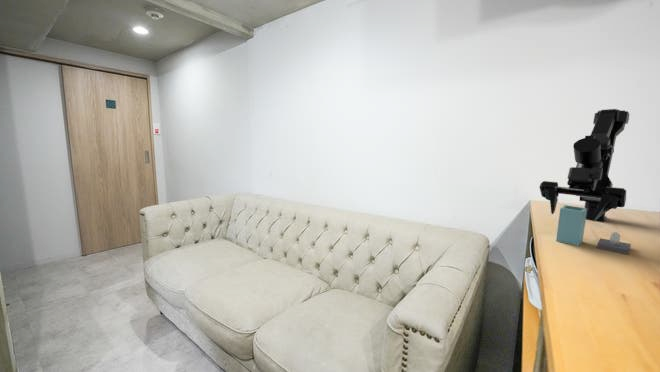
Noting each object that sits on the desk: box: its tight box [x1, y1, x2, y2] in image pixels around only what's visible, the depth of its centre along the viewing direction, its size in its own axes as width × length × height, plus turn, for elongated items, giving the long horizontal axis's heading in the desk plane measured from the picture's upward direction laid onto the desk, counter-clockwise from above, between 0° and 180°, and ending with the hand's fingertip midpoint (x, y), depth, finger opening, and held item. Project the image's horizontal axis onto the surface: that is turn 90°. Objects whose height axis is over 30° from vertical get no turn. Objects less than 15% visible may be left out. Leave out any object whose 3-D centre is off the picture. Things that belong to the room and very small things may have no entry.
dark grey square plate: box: [596, 231, 632, 256], centre depth 75 cm, size 6×6×4 cm
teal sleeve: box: [555, 204, 587, 247], centre depth 80 cm, size 5×5×10 cm
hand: (572, 216), depth 79 cm, fingers open, 9 cm apart
